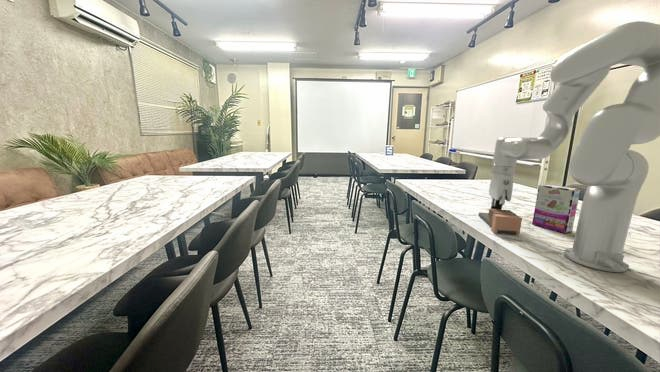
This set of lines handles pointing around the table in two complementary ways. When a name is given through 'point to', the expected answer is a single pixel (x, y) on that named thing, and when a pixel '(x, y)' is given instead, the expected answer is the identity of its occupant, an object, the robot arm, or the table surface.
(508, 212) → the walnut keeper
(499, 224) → the block
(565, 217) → the candy bar box
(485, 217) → the metal rail
